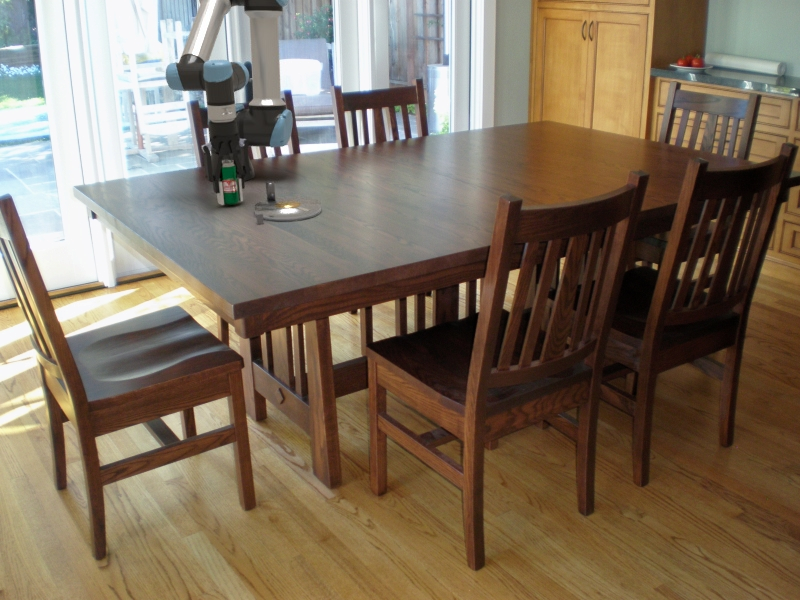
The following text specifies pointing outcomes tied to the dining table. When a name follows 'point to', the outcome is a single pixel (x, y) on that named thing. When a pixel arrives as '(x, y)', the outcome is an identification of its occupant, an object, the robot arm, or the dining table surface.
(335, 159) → the dining table surface
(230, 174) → the soda can
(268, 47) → the robot arm
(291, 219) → the turntable
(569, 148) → the dining table surface
